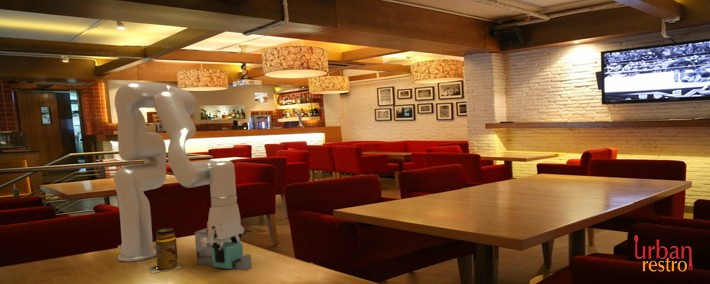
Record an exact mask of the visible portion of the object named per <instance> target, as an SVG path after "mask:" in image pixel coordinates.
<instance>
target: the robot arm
mask: <svg viewBox="0 0 710 284" xmlns="http://www.w3.org/2000/svg"><path fill="white" fill-rule="evenodd" d="M197 106H198V102H197V99H196V97H195V96H194V94H192V93H191V92H190V91H188V90H186V89H182V88H179V87H177V86H173V85H170V84H167V83H162V82H161V83H159V82H146V81H143V82H142V81H131V82H126V83H123V84H121V85H120V86H119V87H118V88H117V90H116V92H115V95H114V109H115V112H116V117H117V144H118V147H117V148H118V150H117V151H118V154H119V157H120V158H121V159H122V160H123V161H128V162H134V161H136V162H137V161H143V160H144V161H143V162H144V163H136V164H135V163H134V164H129V165H124V166H121V167H120V168H118V169H117V170H116V172H115V173H114V175H113V183H114V184H113V185H114V187H115V192H116V194H117V199H118V200H117V201H118V207H119V208H118V209H119V220H120V234H121V235H120V237H121V245H118V246H117V250H120V251H121V253H119V254H118V255H117V260H118V261H120V262H137V261H138V262H139V261H143V260H144V261H145V260H148V259H151V258H154V257H157V254H156V248H154V244H153V241H154V240H153V231H152V214H151V205H150V200H149V199H148V197H147V196H146V195H145V193H144V192H146V191H151V190H155V189H159V188H160V187H162V186H163V185H164V184H165V181H166V178H167V160H168V165H169V167H170V169H171V171H172V174H173V175H174V177H175V179H176V180H177V182H178V183H179V184H180V185H181V186H182V187H184V188H196V187H200V186H205V185H209V186H210V187H209V188H210V204H211V207H209V212H208V234H209V236H208V238H207V240H206V242H207V243H208V244H209V245H210V246H211V247H212V248H213V250H215V262H218V263H224V250H222V247H223V242H224V240H226V239H228V238H230V242H234V243H241V240H242V237H243V234H244V232H245V227H243V226H242V224H241V223H242V222H241V221H242V219H241V214H240V209H239V204H238V203H237V202H238V201H237V199H238V196H237V188H236V173H235V171H236V170H235V164H234V162H233V161H231V160H220V161H218V160H217V161H216V160H209V159H208V160H199V161H193V162H191V160H190V159H189V157H188V154H187V152H186V149H185V144H186V141H188V140H189V139H191V138H192V137H194V135H195V134H196V132H197V128H196V126H195V124H194V122H193V120H192V118H191V116H192V115H193V114H194V113H195V112H196V110H197V108H198V107H197ZM142 108H144V109H145V108H146V109H154V110H155V112H156V113H157V116H158V118H159V120H160V121H161V124H162V127H163V128H164V130H165V132H166V134H167V136H168V138H169V144H168V150H167V148H166V147H167V146H166V142H165V140H164V138H163V137H162V135H161V134H159V133H158V132H155V131H147V130H146V129H147V128H146V119H145V116H144V114H143V112H142V111H141V109H142ZM218 241H219V245H218Z"/></svg>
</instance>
